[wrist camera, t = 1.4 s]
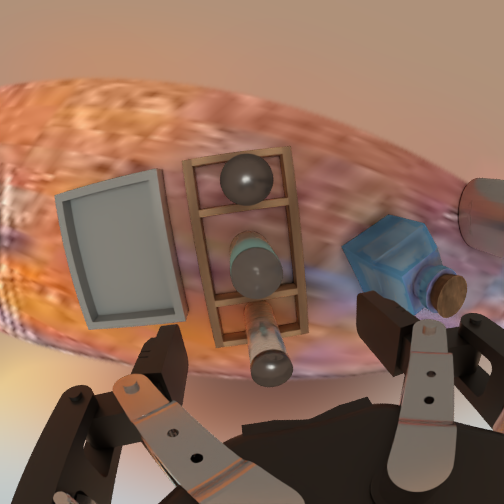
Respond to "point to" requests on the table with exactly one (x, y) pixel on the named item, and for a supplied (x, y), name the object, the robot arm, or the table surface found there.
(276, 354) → the canister
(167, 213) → the dish
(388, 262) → the perfume bottle
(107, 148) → the table surface
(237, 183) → the glass vial
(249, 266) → the cylinder
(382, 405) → the robot arm
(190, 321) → the table surface
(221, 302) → the rack
